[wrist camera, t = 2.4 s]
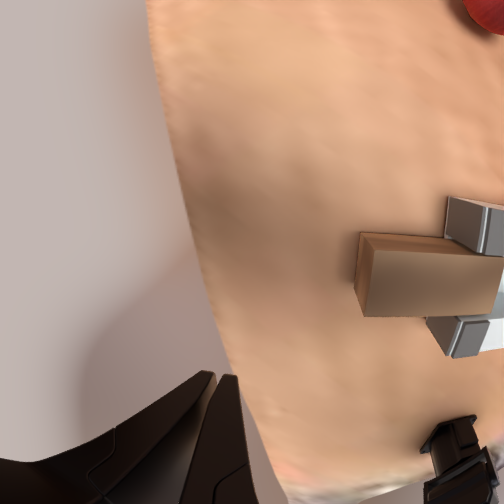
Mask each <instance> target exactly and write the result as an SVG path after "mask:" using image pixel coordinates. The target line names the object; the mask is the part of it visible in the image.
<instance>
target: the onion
mask: <svg viewBox="0 0 504 504" xmlns="http://www.w3.org/2000/svg"><path fill="white" fill-rule="evenodd" d="M462 1H463V3H464V5H465V7H466V9H467V11H468V13H469V15H470V17H471V18H472V19H473V20H474V21H475V22H476V23H478V24H479V25H480V26H482V27H483V28H484V29H486V30H488V31H490V32H492V33H495V34H498V35H504V0H462Z"/></svg>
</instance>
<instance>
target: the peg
mask: <svg viewBox="0 0 504 504" xmlns="http://www.w3.org/2000/svg"><path fill="white" fill-rule="evenodd" d="M503 270H504V256H496V255H485V254H483V253H479V252H475V251H474V250H472V249H470V248H469V247H467V246H465V245H464V244H462V243H460V242H458V241H457V240H455V239H446V238H434V237H421V236H407V235H393V234H378V233H362V232H360V242H359V251H358V260H357V269H356V276H355V284H354V290H355V293H356V295H357V298H358V301H359V304H360V306H361V309H362V312H363V315H364V317H431V316H458V315H477V314H491V312H492V309H493V306H494V302H495V299H496V296H497V292H498V289H499V285H500V282H501V278H502V274H503Z"/></svg>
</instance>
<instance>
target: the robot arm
mask: <svg viewBox="0 0 504 504" xmlns="http://www.w3.org/2000/svg"><path fill="white" fill-rule="evenodd" d="M476 419H477V416H476V415H474V416H470V417H466V418H462V419H458V420H454V421H449V422H444V423H441V424H439V425H438V426H437V427H436V429H435V430H434V432H433V433H432V434H431V436H430V437H429V439H428V440H427V442H426V443H425V444H424V446H423V447H422V448H421V450H420V454H424V453H429V452H430V454H431V458H432V462H433V466H434V470H435V474H436V478H434V479H432V480H430V481H427V482H425V483H424V489H423V490H424V491H423V492H424V504H498V502H499V501H498V496H497V492H496V487H497V486H499V485H500V481H499V477H498V473H497V469H496V465H495V463H494V460H493V458H492V455H491V453H490V451H489V450H488V448H487V446H485V447H483V448H482V449H480V447H479V444H478V441H479V440H478V438H477V435H476V433H475V430H474V428H473V426H472V425H473V424H474V422H475V421H476ZM486 461H487V463H486V464H485V462H486ZM178 502H179V503H178ZM0 504H259V502H258V499H257V496H256V493H255V488H254V483H253V478H252V473H251V467H250V461H249V456H248V448H247V441H246V435H245V428H244V421H243V414H242V406H241V399H240V391H239V384H238V377H237V375H232V374H224V375H223V376H222V378H221V380H220V381H219V384H218V385H217V381H216V375H215V373H214V372H211V371H205V370H201V371H199V372H198V373H197V374H195V375H194V376H193V377H191V378H189V379H188V380H187V381H185V382H184V383H182V384H181V385H179V386H178V387H176V388H175V389H174V390H172V391H170V392H169V393H167V394H166V395H164V396H163V397H161V398H160V399H158V400H157V401H155V402H154V403H152V404H151V405H149V406H148V407H146V408H145V409H143V410H142V411H140V412H138V413H137V414H135V415H133V416H132V417H130V418H129V419H127V420H125V421H124V422H122V423H121V424H119V425H117V426H116V428H112V429H110V430H109V431H107V432H105V433H104V434H102V435H100V436H98V437H96V438H94V439H93V440H91V441H89V442H87V443H84V444H82V445H80V446H77V447H75V448H73V449H70V450H67V451H65V452H62V453H60V454H57V455H54V456H52V457H49V458H46V459H43V460H40V461H35V462H19V461H14V460H8V459H3V458H0Z"/></svg>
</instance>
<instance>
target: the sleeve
mask: <svg viewBox="0 0 504 504" xmlns="http://www.w3.org/2000/svg"><path fill="white" fill-rule="evenodd" d="M444 238H446V239H455V240H457V241H458V242H460V243H462V244H464V245H465V246H467V247H469V248H470V249H472V250H474V251H475V252H479V253H483V254H485V255H496V256H504V206H502V205H497V204H492V203H487V202H481V201H476V200H470V199H464V198H458V197H452V196H449V197H448V208H447V217H446V226H445V233H444ZM426 325H427V326H428V328H429V330H430V331H431V333H432V334H433V336H434V337H435V339H436V341H437V342H438V344H439V346H440V347H441V349H442V350H443V352H444V354H445V356H449V355H451V357H452V358H453V359H454V358H462V357H470V356H477V355H478V352H481V351H487V350H493V349H499V348H504V270H503V274H502V278H501V282H500V285H499V289H498V292H497V296H496V299H495V302H494V306H493V309H492V312H491V314H477V315H458V316H431V317H426Z"/></svg>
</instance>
